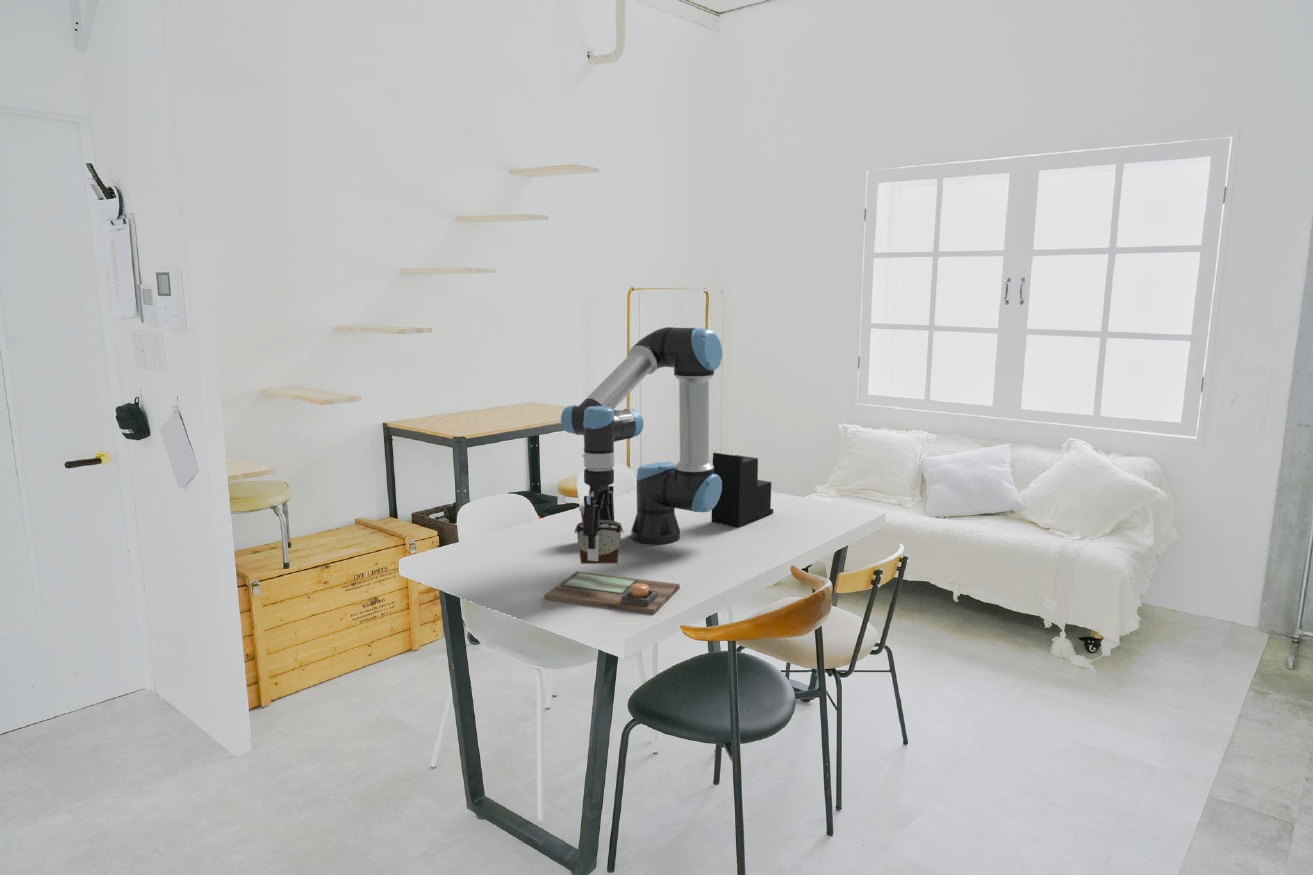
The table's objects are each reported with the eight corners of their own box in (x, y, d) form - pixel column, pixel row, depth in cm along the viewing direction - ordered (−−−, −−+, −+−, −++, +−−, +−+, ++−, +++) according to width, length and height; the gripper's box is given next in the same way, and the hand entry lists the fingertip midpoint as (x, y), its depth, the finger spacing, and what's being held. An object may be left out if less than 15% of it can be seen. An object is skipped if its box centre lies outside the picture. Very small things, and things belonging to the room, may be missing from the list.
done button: (634, 590, 216) (634, 582, 215) (651, 592, 214) (651, 584, 214) (627, 596, 212) (627, 588, 211) (644, 598, 210) (644, 590, 210)
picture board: (576, 575, 235) (576, 565, 234) (679, 588, 225) (679, 578, 225) (544, 599, 217) (544, 588, 217) (654, 614, 207) (654, 602, 207)
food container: (624, 556, 228) (623, 519, 226) (623, 563, 222) (623, 525, 220) (576, 556, 227) (576, 519, 226) (574, 563, 221) (574, 525, 220)
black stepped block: (746, 509, 306) (748, 442, 302) (774, 513, 300) (776, 446, 296) (710, 523, 287) (711, 453, 283) (738, 528, 281) (740, 456, 277)
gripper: (601, 459, 231) (601, 544, 234) (568, 474, 212) (569, 565, 216) (627, 462, 228) (627, 546, 232) (596, 477, 210) (597, 569, 213)
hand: (599, 555), depth 224 cm, fingers closed on food container, 7 cm apart
